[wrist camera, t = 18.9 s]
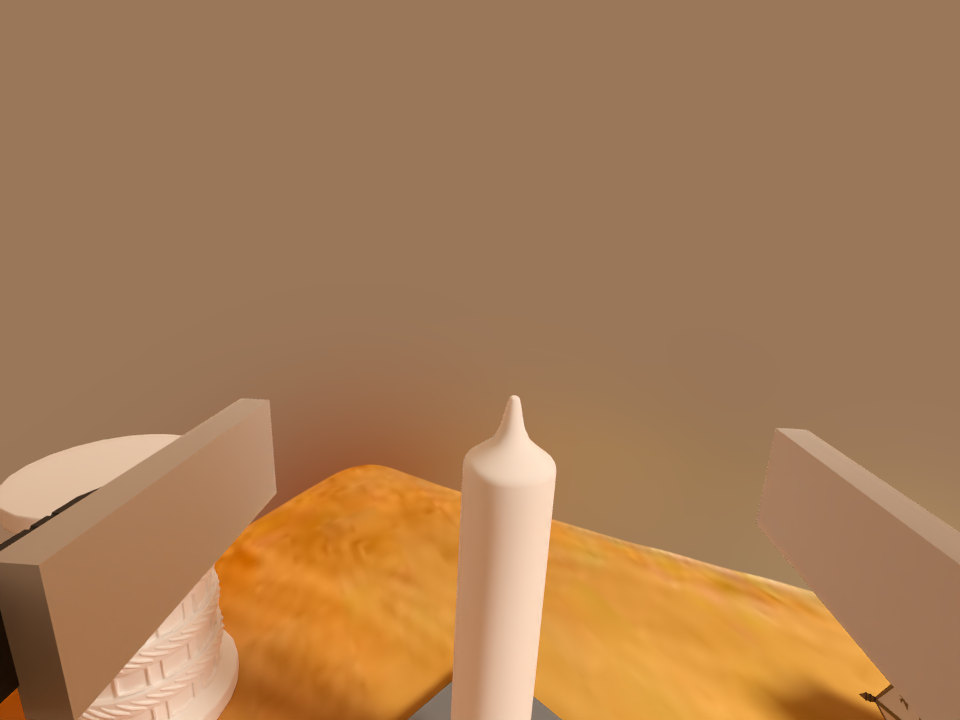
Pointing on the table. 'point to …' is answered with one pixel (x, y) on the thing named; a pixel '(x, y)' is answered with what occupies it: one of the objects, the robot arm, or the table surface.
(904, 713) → the game die
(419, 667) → the table surface
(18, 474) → the decorative container
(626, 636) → the table surface
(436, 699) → the slate tile
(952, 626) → the robot arm
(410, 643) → the table surface
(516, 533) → the candle
